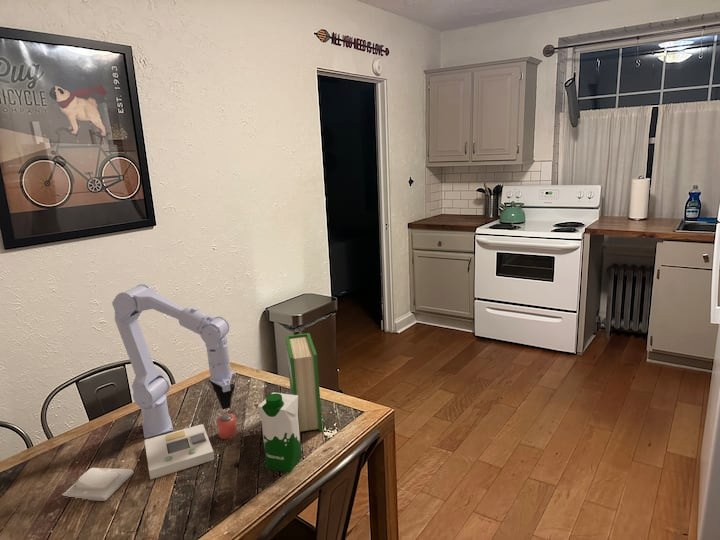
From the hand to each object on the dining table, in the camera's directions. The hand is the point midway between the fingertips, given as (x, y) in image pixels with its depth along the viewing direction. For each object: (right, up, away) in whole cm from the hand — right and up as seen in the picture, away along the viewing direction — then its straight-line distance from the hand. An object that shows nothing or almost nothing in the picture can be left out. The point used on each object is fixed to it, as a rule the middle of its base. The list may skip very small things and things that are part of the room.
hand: (224, 404), depth 141 cm
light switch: (-27, -16, -17) cm, 36 cm away
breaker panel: (-11, -12, -6) cm, 17 cm away
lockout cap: (0, -9, +2) cm, 10 cm away
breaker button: (-11, -12, -6) cm, 17 cm away
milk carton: (+19, -12, -13) cm, 26 cm away
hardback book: (+23, -7, +9) cm, 25 cm away
